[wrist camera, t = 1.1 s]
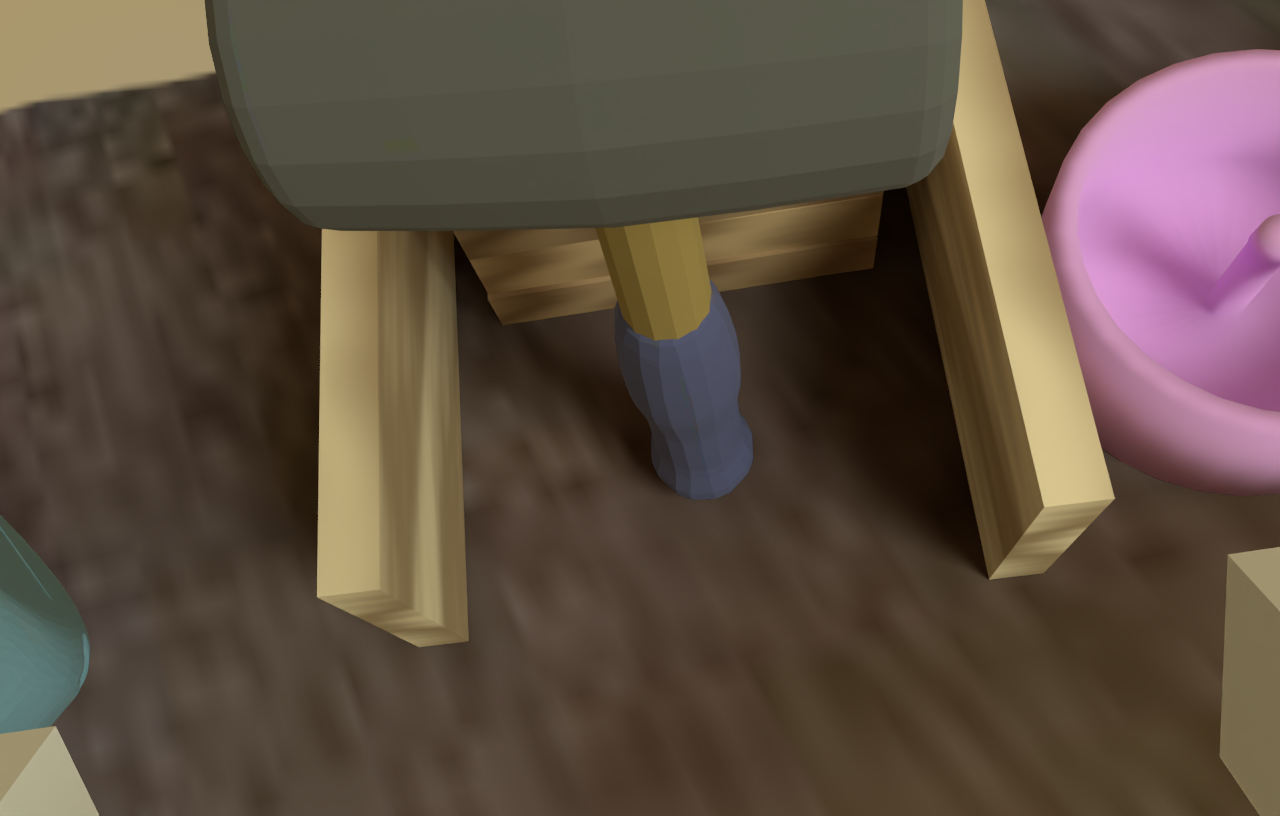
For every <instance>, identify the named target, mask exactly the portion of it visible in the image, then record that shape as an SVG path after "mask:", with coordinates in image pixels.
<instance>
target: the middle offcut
mask: <svg viewBox="0 0 1280 816" xmlns="http://www.w3.org/2000/svg"><path fill="white" fill-rule="evenodd" d="M882 200H883V194H878V195H872V196H866V197H860V198H853V199H847V200H841V201H835V202H829V203H822V204H816V205H810V206H804V207H797V208H791V209H785V210H779V211H773V212H766V213H760V214H754V215H748V216H742V217H735V218H729V219H723V220H717V221H710V222H704V223H699V225H700V231H701V236H702V242H703V247H704V253H705V258H706V261H711V260H718V259H724V258H731V257H738V256H744V255H751V254H758V253H764V252H771V251H777V250H784V249H791V248H797V247H804V246H810V245H817V244H824V243H830V242H837V241H844V240H850V239H857V238H863V237H870V236H877V235H878V229H879V222H880V214H881V207H882ZM469 261H470V262H471V264H472V266H473V268H474V270H475V271H476V273H477V275H478V277H479V278H480V280H481V282H482V284H483V285H484V287H485V289H486V291H487V292H488V294H493V293H499V292H506V291H513V290H519V289H526V288H533V287H539V286H546V285H552V284H559V283H566V282H572V281H579V280H585V279H592V278H599V277H605V276H610V274H609V271H608V268H607V265H606V261H605V258H604V255H603V252H602V248H601V245H600V242H599V240H592V241H586V242H580V243H574V244H568V245H561V246H555V247H549V248H543V249H536V250H530V251H524V252H518V253H512V254H505V255H499V256H493V257H487V258H480V259H474V260H469Z"/></svg>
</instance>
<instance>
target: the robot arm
mask: <svg viewBox="0 0 1280 816" xmlns="http://www.w3.org/2000/svg"><path fill="white" fill-rule="evenodd" d="M89 660H90V643H89V637H88V633H87V630H86V627H85V624H84V622H83V619H82V617H81V615H80V613H79V611H78V609H77V608H76V606H75V604H74V603H73V601H72V599H71V597H70V596H69V594H68V593H67V592H66V590H65V589H64V587H63V586H62V584H61V583H60V582H59V580H58V579H57V578H56V576H55V575H54V574H53V573H52V571H51V570H50V569H49V568H48V566H47V565H46V564H45V563H44V562H43V560H42V559H41V558H40V557H39V556H38V554H37V553H36V552H35V551H34V550H33V549H32V548H31V547H30V546H29V544H28V543H27V542H26V541H25V540H24V539H23V538H22V537H21V536H20V535H19V534H18V533H17V531H16V530H15V529H14V528H13V527H12V526H11V525H10V524H9V523H8V522H7V521H6V520H5V519H4V518H3V517H2V516H1V515H0V816H99V814H98V812H97V810H96V808H95V806H94V804H93V802H92V800H91V798H90V796H89V793H88V791H87V789H86V787H85V785H84V783H83V781H82V779H81V777H80V775H79V773H78V771H77V769H76V767H75V765H74V763H73V761H72V759H71V757H70V755H69V753H68V750H67V748H66V746H65V744H64V742H63V740H62V738H61V736H60V734H59V732H58V730H57V728H56V726H52V727H51V725H52V724H53V723H54V722H55V721H56V719H57V718H58V717H59V716H60V715H61V714H62V712H63V711H64V710H65V709H66V708H67V706H68V705H69V704H70V703H71V702H72V701H73V699H74V698H75V697H76V696H77V694H78V693H79V690H80V688H81V686H82V684H83V682H84V681H85V678H86V676H87V673H88V668H89ZM1220 758H1221V759H1222V761H1223V762H1224V764H1225V765H1226V767H1227V768H1228V770H1229V771H1230V773H1231V774H1232V776H1233V777H1234V778H1235V780H1236V781H1237V783H1238V784H1239V786H1240V787H1241V789H1242V790H1243V792H1244V793H1245V794H1246V796H1247V797H1248V799H1249V800H1250V802H1251V803H1252V805H1253V806H1254V808H1255V809H1256V811H1257V812H1258V813H1259V815H1260V816H1280V547H1277V548H1270V549H1263V550H1256V551H1250V552H1243V553H1236V554H1229V555H1228V563H1227V589H1226V614H1225V639H1224V664H1223V689H1222V714H1221V739H1220Z"/></svg>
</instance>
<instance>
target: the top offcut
mask: <svg viewBox="0 0 1280 816" xmlns="http://www.w3.org/2000/svg"><path fill="white" fill-rule="evenodd" d="M883 192H884V191H878V192H872V193H865V194H859V195H852V196H845V197H839V198H832V199H826V200H819V201H812V202H806V203H799V204H793V205H786V206H779V207H773V208H766V209H760V210H752V211H744V212H736V213H728V214H720V215H712V216H704V217H698V220H699V223H704V222H710V221H717V220H723V219H729V218H735V217H742V216H748V215H754V214H760V213H766V212H773V211H779V210H785V209H791V208H797V207H804V206H810V205H816V204H822V203H829V202H835V201H841V200H847V199H853V198H860V197H866V196H872V195H878V194H883ZM453 232H454V234H455V236H456V238H457V239H458V241H459V243H460V245H461V246H462V248H463V250H464V252H465V254H466V255H467V257H468V259H469V260H474V259H480V258H487V257H493V256H499V255H505V254H512V253H518V252H524V251H530V250H536V249H543V248H549V247H555V246H561V245H568V244H574V243H580V242H586V241H592V240H599V239H598V236H597V232H596V229H595V228H574V229H532V230H491V231H453Z"/></svg>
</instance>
